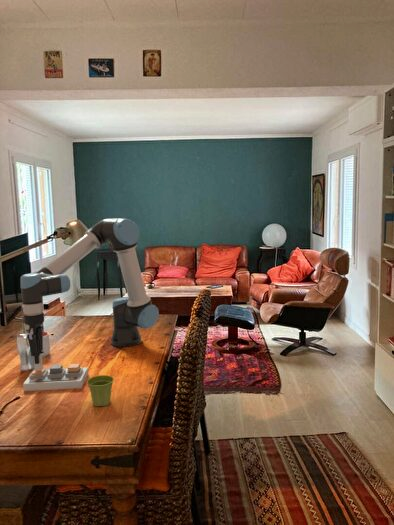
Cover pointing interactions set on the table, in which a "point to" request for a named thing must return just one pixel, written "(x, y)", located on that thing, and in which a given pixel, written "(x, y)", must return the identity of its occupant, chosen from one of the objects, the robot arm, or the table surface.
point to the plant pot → (100, 389)
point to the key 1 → (38, 372)
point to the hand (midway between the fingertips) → (38, 370)
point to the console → (56, 380)
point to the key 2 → (73, 367)
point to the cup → (46, 344)
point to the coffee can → (27, 327)
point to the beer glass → (25, 352)
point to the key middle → (56, 368)
